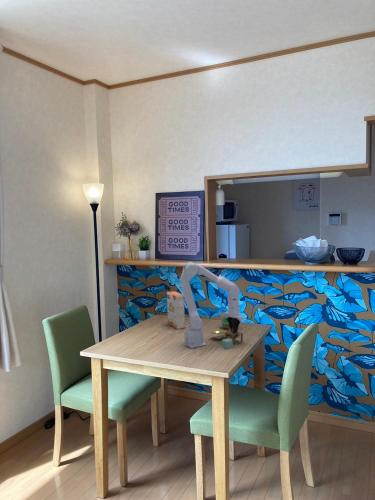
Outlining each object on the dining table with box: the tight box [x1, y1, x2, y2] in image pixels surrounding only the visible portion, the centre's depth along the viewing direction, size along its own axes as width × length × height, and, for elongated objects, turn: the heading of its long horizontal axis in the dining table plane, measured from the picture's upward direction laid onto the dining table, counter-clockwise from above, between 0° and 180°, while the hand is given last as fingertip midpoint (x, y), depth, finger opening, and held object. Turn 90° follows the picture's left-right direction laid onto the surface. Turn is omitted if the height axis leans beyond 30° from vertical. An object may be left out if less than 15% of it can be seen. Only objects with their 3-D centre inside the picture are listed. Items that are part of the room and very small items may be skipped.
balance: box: [209, 328, 232, 341], centre depth 230 cm, size 18×8×5 cm, turn 118°
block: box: [221, 338, 234, 350], centre depth 213 cm, size 4×4×4 cm
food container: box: [219, 311, 230, 331], centre depth 245 cm, size 12×6×10 cm, turn 62°
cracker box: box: [166, 290, 186, 330], centre depth 255 cm, size 14×6×21 cm, turn 25°
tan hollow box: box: [224, 328, 244, 345], centre depth 221 cm, size 7×7×7 cm
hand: (234, 331), depth 220 cm, fingers closed on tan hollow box, 2 cm apart
